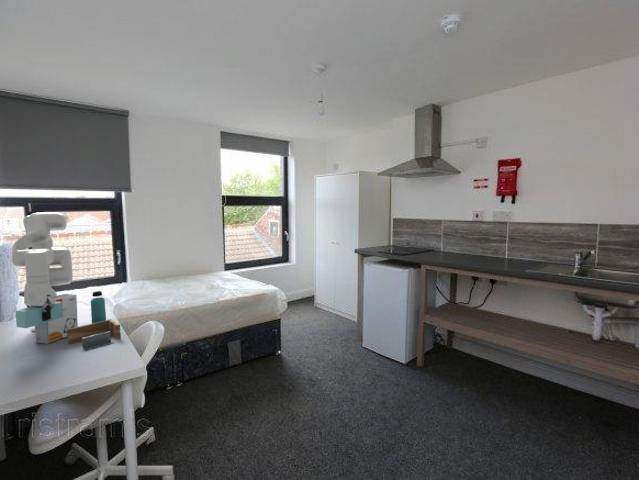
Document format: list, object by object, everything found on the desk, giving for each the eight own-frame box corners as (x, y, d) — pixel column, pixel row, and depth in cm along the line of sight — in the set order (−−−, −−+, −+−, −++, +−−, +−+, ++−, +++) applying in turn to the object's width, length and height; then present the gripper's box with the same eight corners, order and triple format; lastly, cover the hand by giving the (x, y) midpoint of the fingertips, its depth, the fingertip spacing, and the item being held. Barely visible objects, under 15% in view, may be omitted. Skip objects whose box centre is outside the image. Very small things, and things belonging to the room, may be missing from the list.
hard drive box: (48, 344, 150) (45, 302, 148) (34, 342, 152) (31, 301, 150) (79, 332, 165) (76, 294, 164) (66, 331, 167) (64, 293, 165)
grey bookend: (82, 347, 147) (82, 337, 146) (109, 340, 155) (109, 331, 155) (86, 350, 143) (85, 341, 143) (114, 343, 152) (113, 333, 151)
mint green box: (16, 326, 136) (15, 310, 135) (54, 315, 150) (53, 301, 149) (25, 328, 134) (24, 311, 134) (63, 316, 149) (62, 302, 148)
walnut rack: (67, 343, 151) (67, 329, 150) (111, 332, 165) (110, 319, 164) (75, 350, 143) (75, 335, 143) (120, 338, 157) (120, 324, 156)
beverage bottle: (109, 327, 172) (107, 290, 171) (97, 331, 166) (95, 293, 164) (100, 325, 174) (99, 289, 173) (88, 330, 168) (86, 292, 166)
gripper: (12, 280, 138) (15, 321, 140) (45, 282, 135) (48, 323, 137) (30, 276, 146) (33, 315, 147) (62, 278, 143) (65, 318, 144)
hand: (40, 319), depth 142 cm, fingers closed on mint green box, 5 cm apart
